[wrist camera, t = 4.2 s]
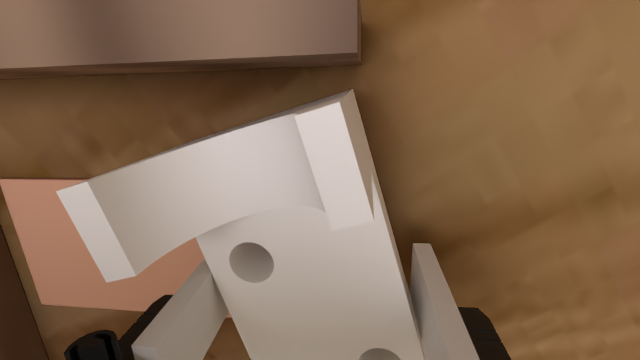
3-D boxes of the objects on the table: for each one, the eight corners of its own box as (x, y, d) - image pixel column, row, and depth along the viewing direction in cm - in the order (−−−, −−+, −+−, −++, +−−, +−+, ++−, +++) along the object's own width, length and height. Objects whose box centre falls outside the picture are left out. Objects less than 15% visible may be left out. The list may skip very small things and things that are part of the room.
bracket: (204, 136, 15) (56, 191, 8) (353, 88, 13) (339, 101, 6) (294, 357, 18) (249, 539, 11) (422, 338, 17) (465, 535, 10)
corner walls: (32, 369, 25) (-114, 497, 17) (-92, 48, 18) (-422, 27, 10) (359, 403, 21) (356, 581, 14) (361, 22, 15) (357, -36, 7)
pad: (45, 301, 22) (41, 304, 22) (3, 177, 20) (-2, 179, 20) (253, 315, 20) (251, 319, 20) (237, 180, 18) (235, 181, 17)
